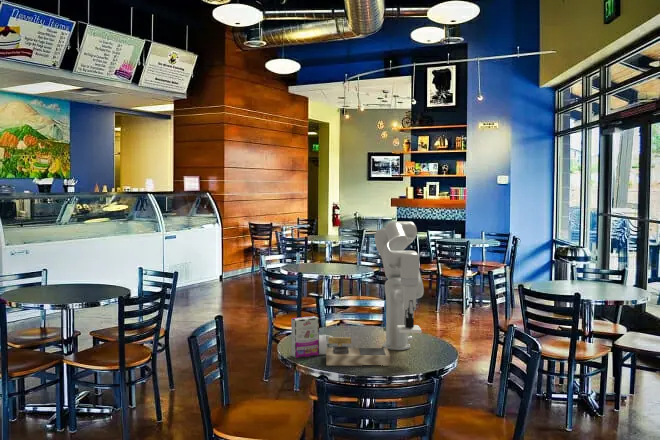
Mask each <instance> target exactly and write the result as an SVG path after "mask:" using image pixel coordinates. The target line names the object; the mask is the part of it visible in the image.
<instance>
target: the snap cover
mask: <svg viewBox="0 0 660 440" xmlns="http://www.w3.org/2000/svg"><path fill="white" fill-rule="evenodd" d="M406 318H407V315H405V325H397V329H398V331H399V333H407V334H414V333H415V334H417V333H418V334H422V328H421V327H420V326H419V325H417V324H414V327H413V328H406Z"/></svg>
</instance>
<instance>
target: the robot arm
mask: <svg viewBox="0 0 660 440" xmlns="http://www.w3.org/2000/svg"><path fill="white" fill-rule="evenodd" d="M417 229H418V228H417V226H416V224H415V223H414V222H413V221H405V220H404V221H391V222H389V223H387V224H386V225H385V227H382V228H379V229H377V230H376V231H375V234H374V243H375V247H376V250H377V252H378V254H379V255H380V258H381V260H382V265H383V270H384V274H385V277H386V279H387V280H386V281H385V282H384V292H385V293H384V294H385V303H386V307H385V308H386V311H385V312H386V313H385V314H386V315H385V316H386V321H385V324H386V326H385V327H386V328H385V330H386V331H385V335H386V336H385V342H383V343H382V348H387V349H388V350H389V351H390V350H391V351H405V350H409V349H411V344H410V343H409V341H413V340H414V339H413V336H412V335H408V333H399V331H398V329H397V325H405V315H407V318H406V328H413V327H414V325H415V323H414V322H415V317H414V313H415V312H414V311H416V310H417V307H416V306H417V300H418V299H420V298H423V296H424V293H425V289H424V283H423V279H422V274H421V271H420V255H419V253H418V252H417V251H415V250H406V248H408V246H409V245H410V244H412V243H413V241H414V240H415V239H416V238H417V234H418V230H417Z"/></svg>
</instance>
